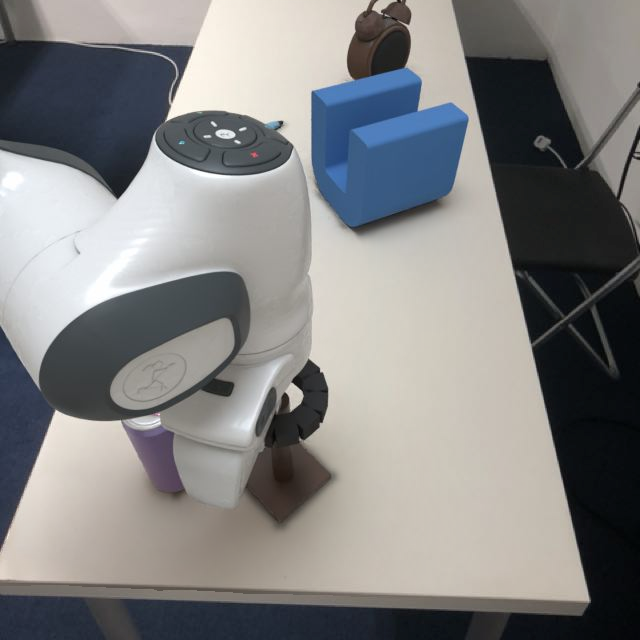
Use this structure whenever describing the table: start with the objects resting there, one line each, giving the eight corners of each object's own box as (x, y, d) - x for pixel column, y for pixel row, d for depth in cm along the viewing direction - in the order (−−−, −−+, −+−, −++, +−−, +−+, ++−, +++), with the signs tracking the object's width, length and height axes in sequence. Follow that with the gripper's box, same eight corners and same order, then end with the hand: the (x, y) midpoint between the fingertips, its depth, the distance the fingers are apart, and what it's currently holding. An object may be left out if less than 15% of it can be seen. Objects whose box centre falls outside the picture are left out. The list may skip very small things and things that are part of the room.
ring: (273, 467, 51) (272, 456, 49) (207, 402, 55) (204, 389, 53) (347, 403, 55) (348, 391, 53) (281, 347, 60) (280, 334, 58)
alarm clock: (365, 107, 122) (373, 8, 107) (342, 94, 126) (347, -3, 111) (411, 85, 129) (424, -11, 114) (388, 73, 132) (398, -21, 117)
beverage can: (186, 501, 66) (159, 438, 54) (140, 485, 67) (105, 420, 55) (209, 456, 69) (188, 389, 58) (165, 442, 70) (137, 373, 59)
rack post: (280, 523, 64) (272, 453, 51) (236, 475, 68) (218, 398, 55) (331, 478, 68) (335, 401, 55) (286, 434, 71) (281, 353, 58)
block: (447, 210, 100) (469, 116, 87) (359, 240, 95) (367, 146, 81) (393, 157, 111) (405, 66, 97) (311, 182, 105) (311, 89, 91)
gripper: (260, 230, 48) (269, 332, 59) (145, 438, 35) (183, 521, 46) (332, 245, 47) (328, 347, 57) (240, 465, 34) (257, 544, 45)
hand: (263, 426), depth 52 cm, fingers closed on ring, 2 cm apart
